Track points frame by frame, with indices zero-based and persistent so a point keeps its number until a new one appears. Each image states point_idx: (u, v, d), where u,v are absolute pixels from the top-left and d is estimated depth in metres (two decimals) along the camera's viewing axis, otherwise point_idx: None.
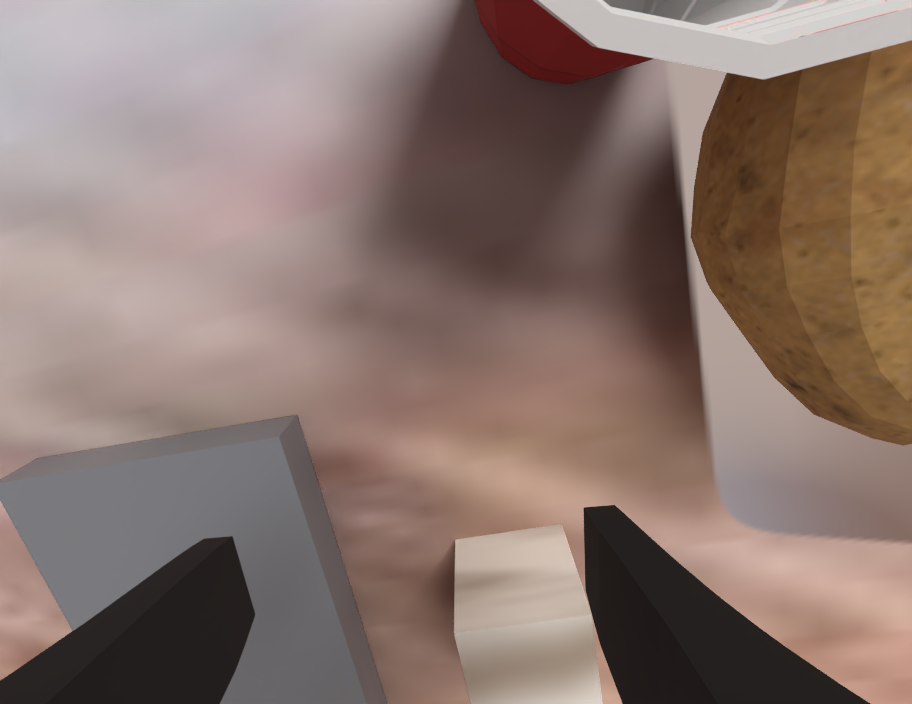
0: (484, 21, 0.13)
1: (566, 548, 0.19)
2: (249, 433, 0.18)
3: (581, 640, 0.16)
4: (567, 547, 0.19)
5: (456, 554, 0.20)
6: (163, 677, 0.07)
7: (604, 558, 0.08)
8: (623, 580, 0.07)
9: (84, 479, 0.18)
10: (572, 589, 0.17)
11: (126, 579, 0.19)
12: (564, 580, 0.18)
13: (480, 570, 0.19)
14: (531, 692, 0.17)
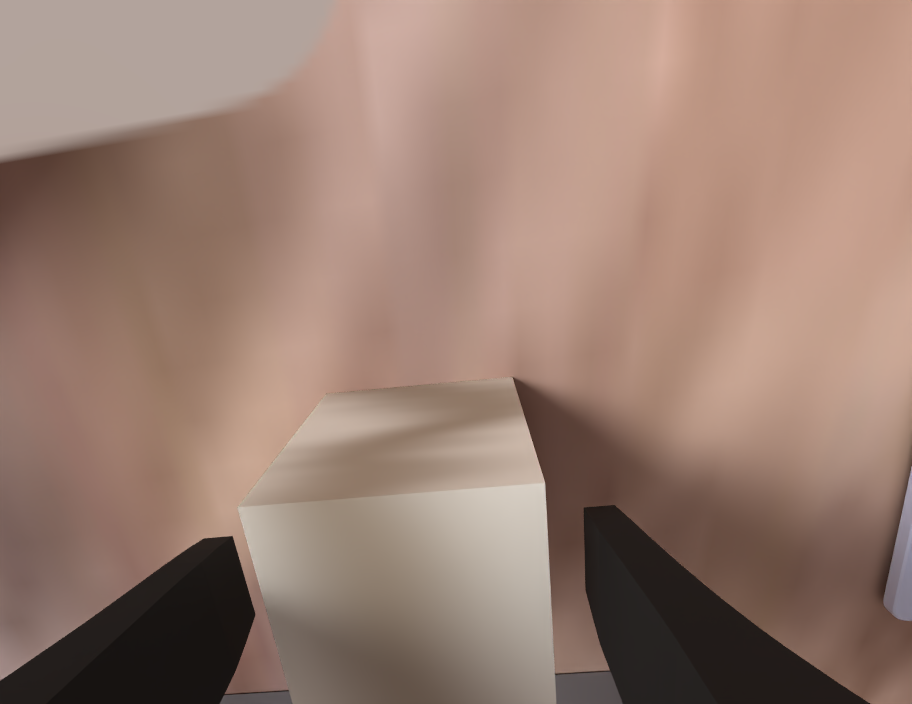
0: None
1: None
2: None
3: (310, 526, 0.07)
4: None
5: None
6: (163, 676, 0.07)
7: (604, 558, 0.08)
8: (623, 580, 0.07)
9: None
10: None
11: None
12: None
13: None
14: (459, 619, 0.08)
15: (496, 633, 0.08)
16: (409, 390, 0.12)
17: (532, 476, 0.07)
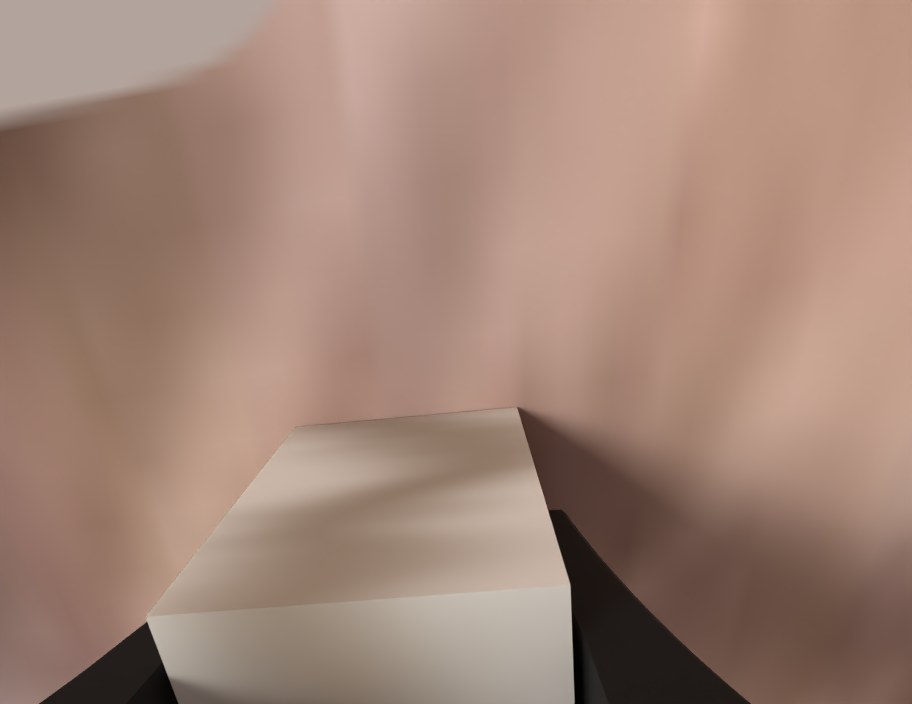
0: None
1: None
2: None
3: (247, 640, 0.05)
4: (265, 468, 0.09)
5: None
6: None
7: None
8: None
9: None
10: None
11: None
12: None
13: None
14: None
15: None
16: (393, 425, 0.10)
17: (552, 571, 0.05)
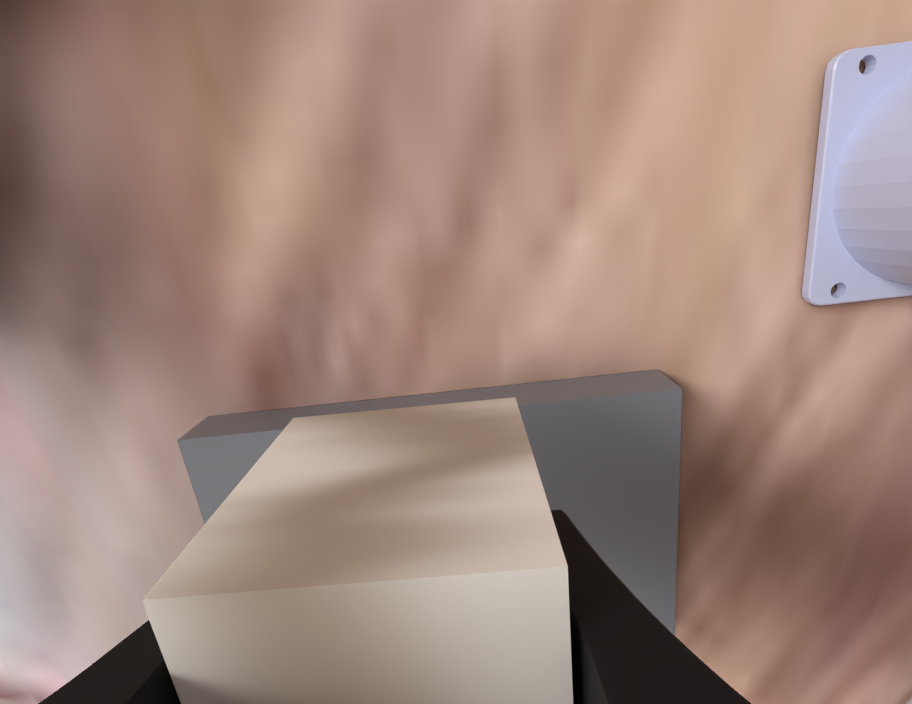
0: None
1: None
2: None
3: (243, 623, 0.05)
4: None
5: None
6: None
7: None
8: None
9: None
10: None
11: None
12: None
13: None
14: None
15: None
16: (391, 415, 0.10)
17: (549, 554, 0.05)
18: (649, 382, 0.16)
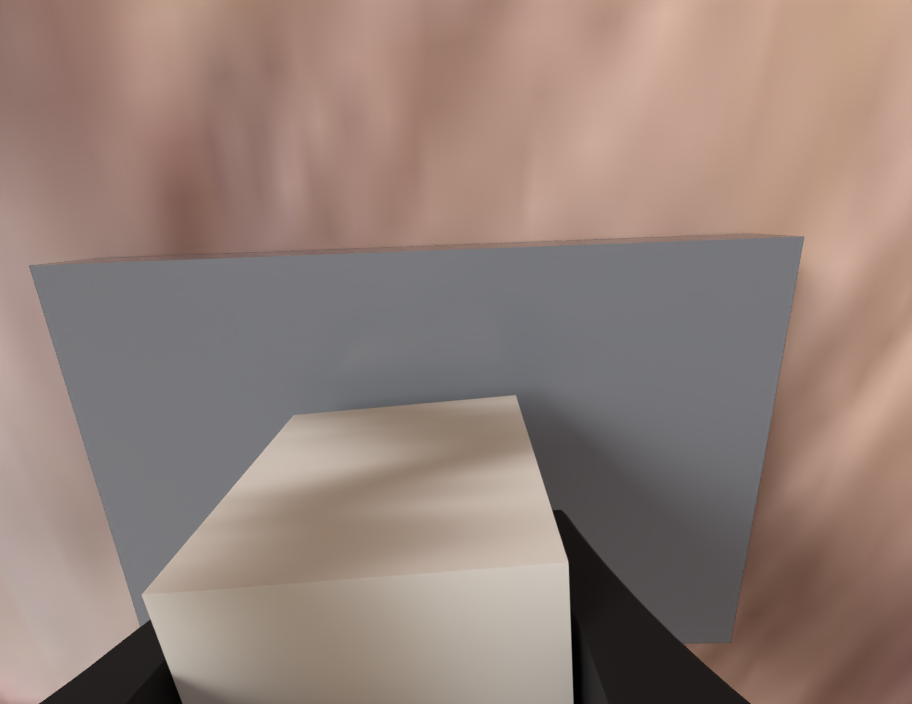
0: None
1: None
2: None
3: (244, 619, 0.05)
4: (263, 454, 0.09)
5: None
6: None
7: None
8: None
9: (132, 553, 0.13)
10: None
11: None
12: None
13: None
14: None
15: None
16: (392, 412, 0.10)
17: (550, 550, 0.05)
18: (747, 236, 0.11)
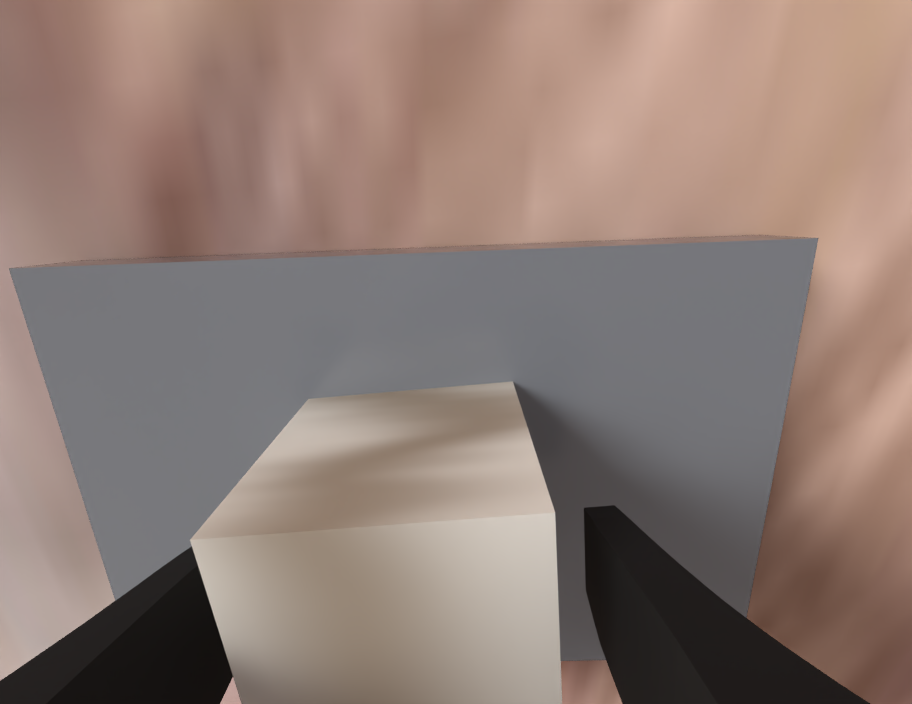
0: None
1: None
2: None
3: (277, 562, 0.06)
4: None
5: None
6: (164, 676, 0.07)
7: (604, 558, 0.08)
8: (623, 580, 0.07)
9: (120, 566, 0.12)
10: None
11: None
12: None
13: None
14: (452, 667, 0.07)
15: (497, 684, 0.07)
16: (399, 396, 0.10)
17: (539, 503, 0.06)
18: (757, 238, 0.10)
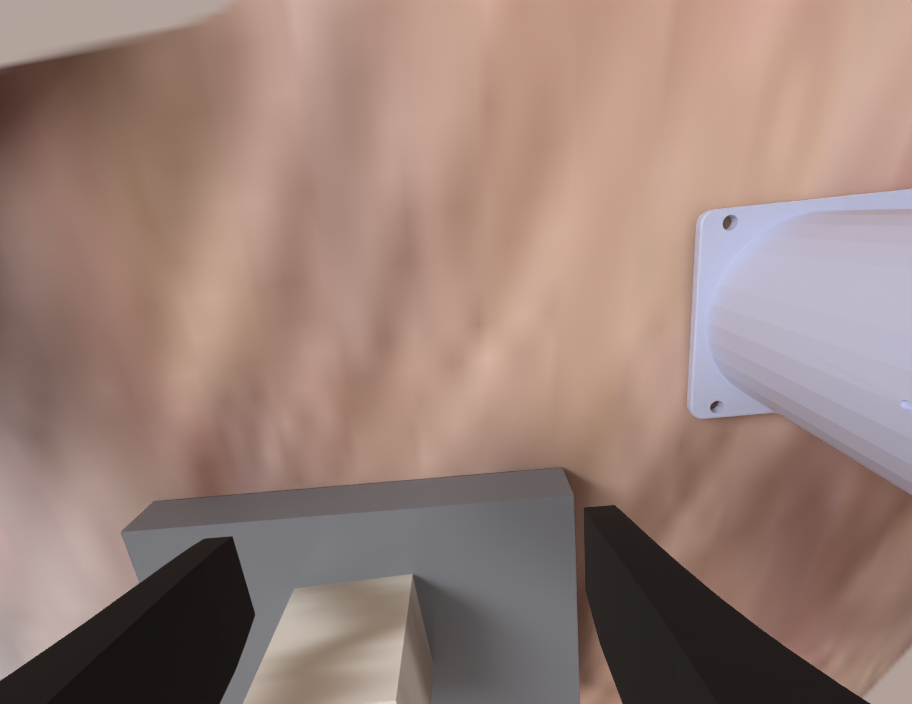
0: None
1: None
2: None
3: None
4: (279, 623, 0.17)
5: None
6: (164, 676, 0.07)
7: (604, 558, 0.08)
8: (623, 580, 0.07)
9: None
10: None
11: None
12: None
13: None
14: None
15: None
16: (346, 588, 0.18)
17: (391, 693, 0.14)
18: (549, 485, 0.18)
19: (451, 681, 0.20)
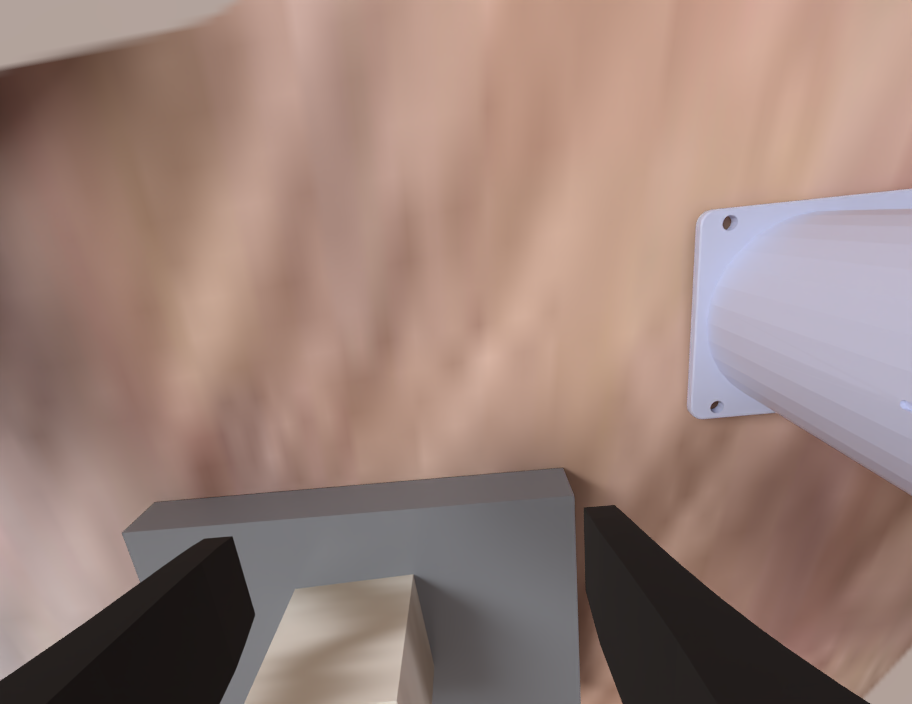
0: None
1: None
2: None
3: None
4: (280, 624, 0.17)
5: None
6: (164, 676, 0.07)
7: (604, 558, 0.08)
8: (623, 580, 0.07)
9: None
10: None
11: None
12: None
13: None
14: None
15: None
16: (346, 589, 0.18)
17: (392, 693, 0.14)
18: (549, 485, 0.18)
19: (452, 681, 0.20)
